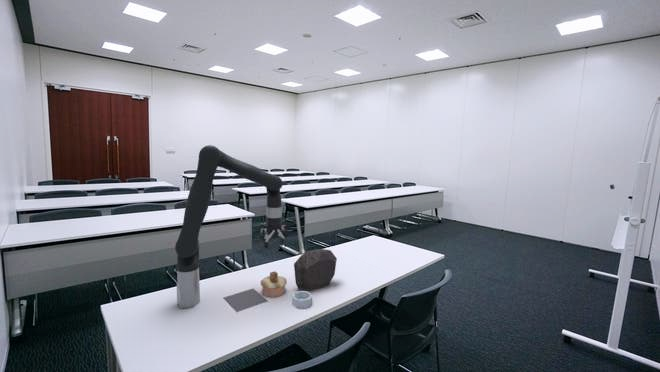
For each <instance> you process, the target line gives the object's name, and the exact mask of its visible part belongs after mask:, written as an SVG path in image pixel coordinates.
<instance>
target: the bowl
mask: <svg viewBox="0 0 660 372" xmlns="http://www.w3.org/2000/svg"><path fill="white" fill-rule="evenodd" d="M285 288H286V285H285V286H283V287H281V288H276V289H268V288H264V287H263V286H262V294H263V296H264V297H265V296H266V297H271V298H272V297H275V298H276V297H279V296H283V294H285V292H286V291H285V290H286V289H285Z"/></svg>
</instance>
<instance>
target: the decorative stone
mask: <svg viewBox="0 0 660 372" xmlns="http://www.w3.org/2000/svg"><path fill="white" fill-rule="evenodd" d="M336 266H337V257H336V256H335V254H334V253H333V252H332V250H331V249H325V248H317V249H313V250H312V249H311V250H306V251H304V252H303V253H302V254H301V255H300V256H299V257H298V259H297V260H296V261H295V262H294V263H293V268H294V269H293V270H294V278H295V285H296V287H297V288H298V289H299V290H307V291H308V290H309V291H312V290H317V289H320V288H323V287H326V286H327V287H328V286H329V285H330V284H331V281H332V280H333V278H334V276H335V274H336Z"/></svg>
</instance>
